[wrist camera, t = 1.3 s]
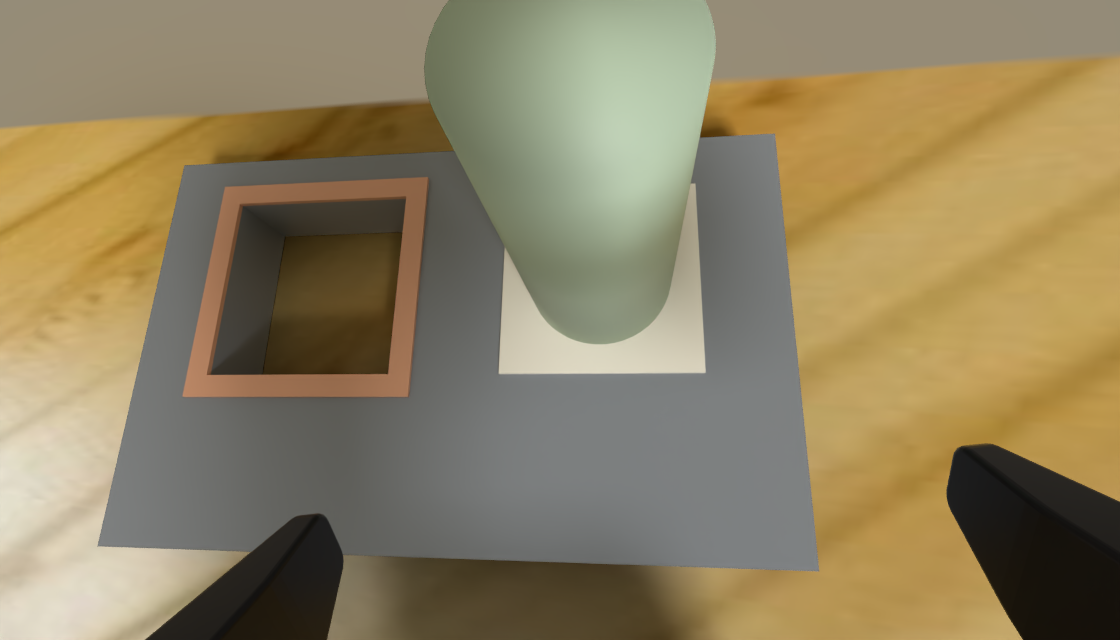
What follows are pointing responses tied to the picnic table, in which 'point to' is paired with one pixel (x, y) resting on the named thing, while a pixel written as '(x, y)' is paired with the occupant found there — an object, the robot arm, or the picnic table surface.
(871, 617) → the picnic table surface
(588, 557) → the slotted grey base
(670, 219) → the post
